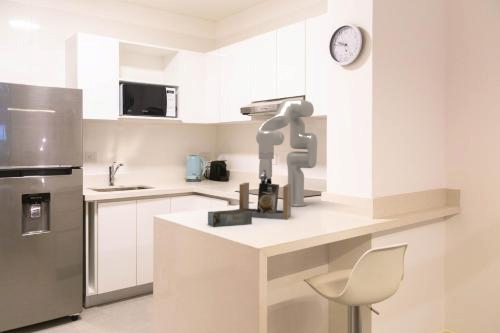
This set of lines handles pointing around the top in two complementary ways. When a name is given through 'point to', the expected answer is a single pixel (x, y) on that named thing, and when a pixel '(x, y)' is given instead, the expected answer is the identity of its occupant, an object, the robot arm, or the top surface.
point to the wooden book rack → (279, 215)
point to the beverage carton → (229, 217)
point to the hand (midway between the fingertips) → (266, 190)
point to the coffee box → (268, 199)
